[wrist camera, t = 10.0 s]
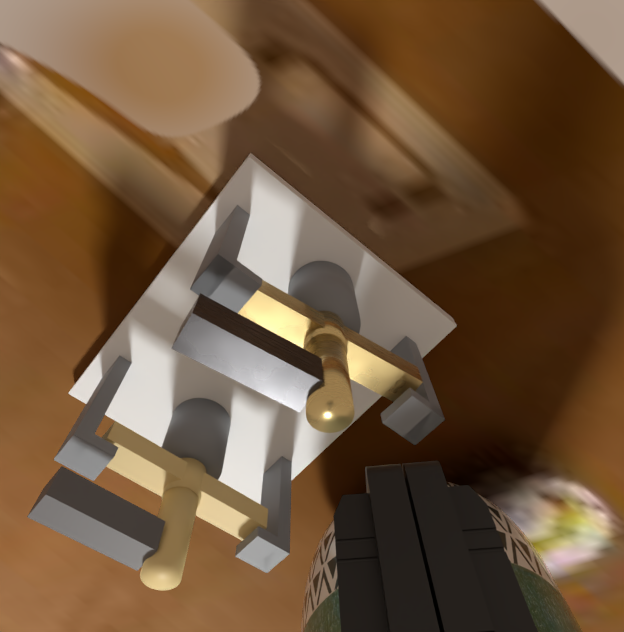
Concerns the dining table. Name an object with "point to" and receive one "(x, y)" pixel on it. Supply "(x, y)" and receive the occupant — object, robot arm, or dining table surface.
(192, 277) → the lock board
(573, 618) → the planter
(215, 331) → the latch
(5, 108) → the dining table surface
